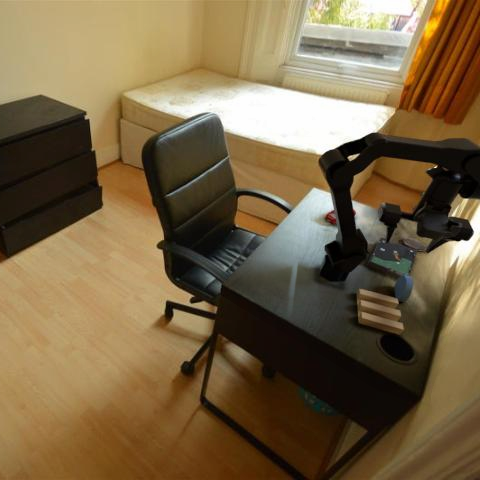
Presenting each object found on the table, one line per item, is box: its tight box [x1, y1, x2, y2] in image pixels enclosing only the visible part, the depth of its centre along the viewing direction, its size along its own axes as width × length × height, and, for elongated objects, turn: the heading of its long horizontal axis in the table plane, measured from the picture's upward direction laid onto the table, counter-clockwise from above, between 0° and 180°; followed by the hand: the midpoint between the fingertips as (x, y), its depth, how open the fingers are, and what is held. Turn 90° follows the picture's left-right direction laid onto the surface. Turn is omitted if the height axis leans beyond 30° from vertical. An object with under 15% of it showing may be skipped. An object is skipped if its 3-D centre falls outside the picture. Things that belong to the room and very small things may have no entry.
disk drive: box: [366, 237, 418, 279], centre depth 100 cm, size 10×3×15 cm
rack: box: [356, 288, 405, 336], centre depth 84 cm, size 9×10×3 cm
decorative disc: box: [401, 236, 427, 252], centre depth 107 cm, size 6×6×1 cm
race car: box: [324, 208, 357, 226], centre depth 117 cm, size 13×5×4 cm, turn 122°
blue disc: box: [393, 275, 414, 303], centre depth 88 cm, size 7×2×7 cm, turn 158°
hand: (406, 247), depth 86 cm, fingers open, 9 cm apart
